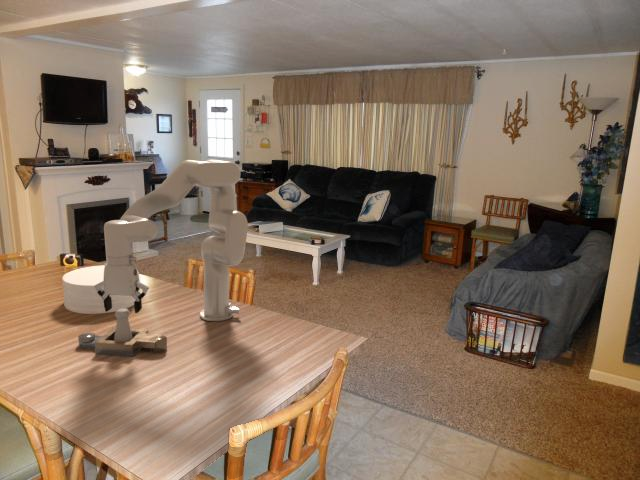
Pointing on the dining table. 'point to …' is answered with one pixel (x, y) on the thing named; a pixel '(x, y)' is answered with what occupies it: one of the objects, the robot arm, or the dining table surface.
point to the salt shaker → (122, 326)
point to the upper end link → (133, 341)
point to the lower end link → (89, 343)
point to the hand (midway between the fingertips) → (123, 310)
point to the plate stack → (89, 292)
